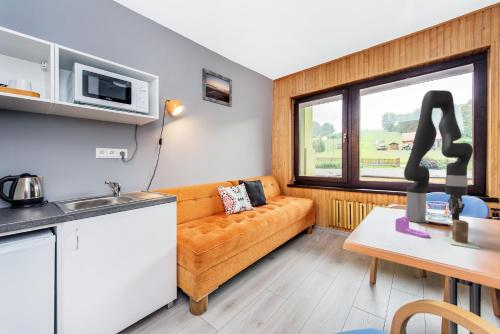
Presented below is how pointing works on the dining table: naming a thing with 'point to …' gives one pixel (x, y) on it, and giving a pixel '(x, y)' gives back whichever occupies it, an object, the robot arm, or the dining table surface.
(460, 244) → the mat
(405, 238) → the dining table surface
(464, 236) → the walnut block
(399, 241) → the dining table surface
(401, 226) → the bracket
